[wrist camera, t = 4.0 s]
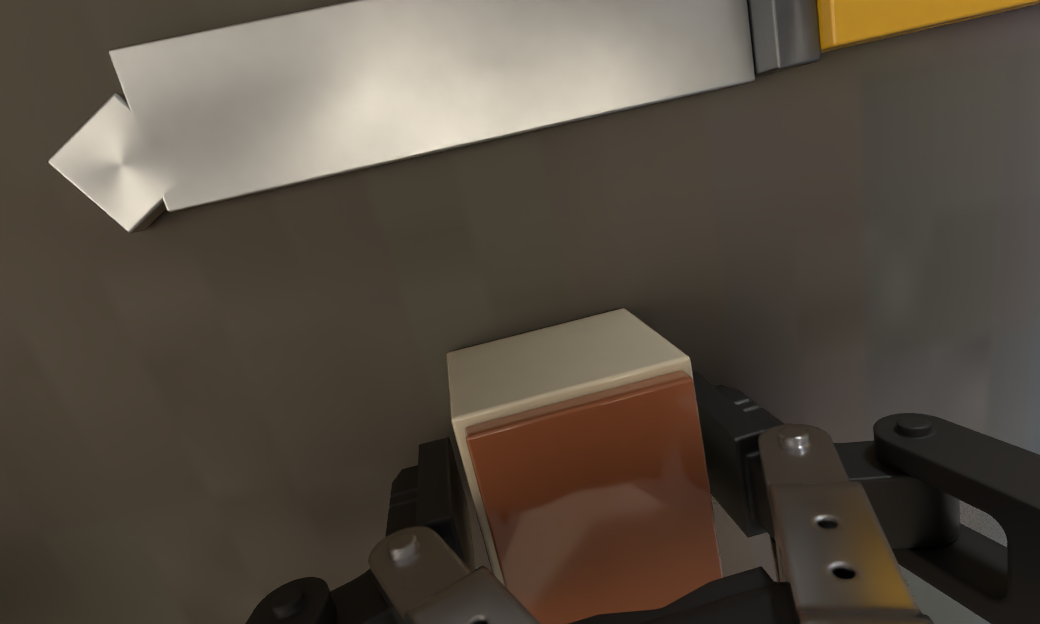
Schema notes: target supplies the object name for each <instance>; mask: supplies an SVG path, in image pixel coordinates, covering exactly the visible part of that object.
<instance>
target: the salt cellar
mask: <svg viewBox="0 0 1040 624" xmlns="http://www.w3.org/2000/svg"><path fill="white" fill-rule="evenodd" d="M446 358H447V371H448V384H449V397H450V411H451V422H452V426H453V429H454V433H455V437H456V441H457V444H458V448H459V452H460V455H461V459H462V463H463V466H464V470H465V474H466V477H467V481H468V485H469V488H470V492H471V496H472V499H473V503H474V507H475V510H476V514H477V518H478V521H479V525H480V529H481V532H482V536H483V540H484V544H485V547H486V551H487V555H488V558H489V562H490V566H491V569H492V573H493V574H494V575H495V576H496V577H497V579H498V580H499V581H500V582H501V583H502V584H503V585H504V586H505V587H506V588H507V589H508V590H509V591H510V592H511V593H512V594H513V595H514V596H515V597H516V598H517V599H518V600H519V601H520V602H521V603H522V604H523V605H524V606H525V607H526V608H527V609H528V611H529V612H530V613H531V614H532V615H533V616H534V617H535V618H536V619H537V620H538V621H539V622H540V623H541V624H568V623H572V622H575V621H578V620H582V619H585V618H589V617H592V616H595V615H599V614H608V613H619V612H631V611H642V610H653V609H659V608H663V607H665V606H667V605H669V604H670V603H672V602H674V601H676V600H678V599H679V598H681V597H683V596H685V595H687V594H688V593H690V592H692V591H694V590H696V589H697V588H699V587H701V586H703V585H705V584H706V583H708V582H710V581H714V580H717V579H721V578H723V573H722V566H721V560H720V553H719V546H718V540H717V533H716V526H715V520H714V513H713V506H712V500H711V493H710V487H709V480H708V473H707V467H706V460H705V453H704V447H703V440H702V433H701V427H700V420H699V413H698V407H697V400H696V394H695V387H694V380H693V374H692V367H691V360H690V358H689V356H688V355H686V354H685V353H684V352H682V351H681V350H680V349H678V348H677V347H676V346H674V345H673V344H672V343H671V342H669V341H668V340H667V339H665V338H664V337H663V336H661V335H660V334H659V333H657V332H656V331H655V330H653V329H652V328H651V327H649V326H648V325H647V324H645V323H644V322H643V321H641V320H640V319H639V318H637V317H636V316H635V315H633V314H632V313H631V312H629V311H628V310H627V309H624V308H623V309H619V310H615V311H611V312H607V313H603V314H599V315H595V316H591V317H587V318H583V319H579V320H575V321H571V322H567V323H563V324H559V325H555V326H551V327H547V328H543V329H539V330H536V331H532V332H528V333H524V334H520V335H516V336H512V337H508V338H504V339H500V340H496V341H492V342H488V343H484V344H480V345H476V346H472V347H468V348H464V349H460V350H456V351H452V352H449V353H447V356H446Z"/></svg>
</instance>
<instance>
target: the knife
mask: <svg viewBox="0 0 1040 624" xmlns="http://www.w3.org/2000/svg"><path fill="white" fill-rule="evenodd" d="M1038 4H1040V0H352V1H347V2H342V3H337V4H332V5H327V6H322V7H317V8H312V9H307V10H303V11H298V12H293V13H288V14H283V15H278V16H273V17H268V18H263V19H258V20H253V21H248V22H243V23H238V24H233V25H228V26H223V27H218V28H213V29H208V30H203V31H198V32H193V33H188V34H183V35H178V36H174V37H169V38H164V39H159V40H154V41H149V42H144V43H139V44H134V45H129V46H124V47H119V48H114V49H110V50H109V51H108V53H109V56H110V58H111V61H112V64H113V67H114V69H115V72H116V75H117V77H118V80H119V83H120V85H121V88H122V91H123V93H124V94H119V93H114V94H112V95H111V96H110V97H109V98H108V99H107V100H106V101H105V102H104V103H103V104H102V105H101V106H100V107H99V108H98V109H97V110H96V111H95V112H94V113H93V114H92V115H91V116H90V117H89V118H88V119H87V120H86V121H85V122H84V123H83V124H82V126H81V127H80V128H79V129H78V130H77V131H76V132H75V133H74V134H73V135H72V136H71V137H70V138H69V139H68V140H67V141H66V142H65V143H64V144H63V145H62V146H61V147H60V148H59V149H58V150H57V151H56V152H55V153H54V154H53V155H52V156H51V157H50V158H49V159H48V161H47V162H48V164H49V165H50V166H52V167H53V168H54V169H55V170H56V171H57V172H59V173H60V174H61V175H62V176H63V177H64V178H65V179H67V180H68V181H69V182H70V183H71V184H72V185H74V186H75V187H76V188H77V189H78V190H79V191H80V192H82V193H83V194H84V195H85V196H86V197H87V198H89V199H90V200H91V201H92V202H93V203H94V204H95V205H97V206H98V207H99V208H100V209H101V210H102V211H104V212H105V213H106V214H107V215H108V216H109V217H110V218H112V219H113V220H114V221H115V222H116V223H117V224H119V225H120V226H121V227H122V228H123V229H124V230H126V231H127V232H128V233H134V232H139V231H143V230H145V229H146V228H147V227H148V226H149V225H150V224H151V223H152V222H153V221H154V220H155V219H156V218H157V217H158V216H159V215H160V214H161V213H162V212H163V211H164V210H166V209H167V211H168V212H175V211H180V210H185V209H190V208H194V207H199V206H203V205H207V204H212V203H216V202H221V201H225V200H230V199H234V198H239V197H243V196H247V195H252V194H256V193H261V192H265V191H270V190H274V189H279V188H283V187H287V186H292V185H296V184H301V183H305V182H310V181H314V180H319V179H323V178H327V177H332V176H336V175H341V174H345V173H350V172H354V171H359V170H363V169H367V168H372V167H376V166H381V165H385V164H390V163H394V162H399V161H403V160H407V159H412V158H416V157H421V156H425V155H430V154H434V153H439V152H443V151H447V150H452V149H456V148H461V147H465V146H470V145H474V144H479V143H483V142H487V141H492V140H496V139H501V138H505V137H510V136H514V135H519V134H523V133H527V132H532V131H536V130H541V129H545V128H550V127H554V126H559V125H563V124H567V123H572V122H576V121H581V120H585V119H590V118H594V117H599V116H603V115H607V114H612V113H616V112H621V111H625V110H630V109H634V108H639V107H643V106H648V105H652V104H656V103H661V102H665V101H670V100H674V99H679V98H683V97H688V96H692V95H696V94H701V93H705V92H710V91H714V90H719V89H723V88H728V87H732V86H736V85H741V84H745V83H749V82H753V81H754V80H755V77H756V76H761V75H765V74H769V73H774V72H778V71H782V70H786V69H790V68H794V67H798V66H801V65H805V64H809V63H813V62H817V61H819V60H820V59H821V53H823V52H827V51H832V50H836V49H841V48H845V47H850V46H854V45H858V44H863V43H867V42H872V41H876V40H881V39H885V38H890V37H894V36H899V35H903V34H908V33H912V32H917V31H921V30H926V29H930V28H935V27H939V26H944V25H948V24H953V23H957V22H962V21H966V20H971V19H975V18H980V17H984V16H989V15H993V14H998V13H1002V12H1006V11H1011V10H1015V9H1020V8H1024V7H1029V6H1033V5H1038Z"/></svg>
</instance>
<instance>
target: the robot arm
mask: <svg viewBox="0 0 1040 624" xmlns="http://www.w3.org/2000/svg"><path fill="white" fill-rule="evenodd" d="M692 374H693V380H694V387H695V394H696V400H697V407H698V413H699V420H700V427H701V433H702V440H703V447H704V453H705V460H706V467H707V473H708V480H709V487H710V493H711V494H712V495H713V497H714V498H715V499H716V500H717V501H718V503H719V504H720V505H721V506H722V507H723V508H724V510H725V511H726V512H727V513H728V514H729V516H730V517H731V518H732V519H733V520H734V521H735V523H736V524H737V525H738V526H739V527H740V529H741V530H742V531H743V532H744V533H745V535H746V536H747V537H752V536H755V535H759V534H762V533H766V532H768V534H769V535H770V541H771V549H772V556H773V561H774V566H775V572H776V577H777V582H774V581H773V580H772V579H771V578H770V576H769V575H768V574H767V573H766V571H765V570H764V569H763V568H762V567H758V568H754V569H751V570H748V571H744V572H741V573H738V574H734V575H731V576H727V577H724V578H721V579H717V580H714V581H710V582H708V583H706V584H705V585H703V586H701V587H699V588H697V589H696V590H694V591H692V592H690V593H688V594H687V595H685V596H683V597H681V598H679V599H678V600H676V601H674V602H672V603H670V604H669V605H667V606H665V607H663V608H659V609H653V610H642V611H631V612H619V613H608V614H599V615H595V616H592V617H589V618H585V619H582V620H578V621H575V622H572V623H568V624H934V623H933V622H932V620H931V619H930V618H929V617H928V616H927V615H924V614H922V613H921V611H920V610H919V608H918V606H917V604H916V601H915V599H914V597H913V595H912V593H911V590H910V588H909V586H908V584H907V582H906V580H905V577H904V575H903V573H902V571H901V569H900V566H899V564H900V565H901V566H903V567H904V568H906V569H907V570H909V571H910V572H912V573H914V574H915V575H917V576H918V577H920V578H921V579H923V580H924V581H926V582H928V583H929V584H931V585H932V586H934V587H935V588H937V589H938V590H940V591H941V592H943V593H945V594H946V595H948V596H949V597H951V598H952V599H954V600H955V601H957V602H959V603H960V604H962V605H963V606H965V607H966V608H968V609H969V610H971V611H972V612H974V613H976V614H977V615H979V616H980V617H982V618H983V619H985V620H986V621H988V622H990V623H991V624H1040V455H1038V454H1036V453H1033V452H1030V451H1028V450H1025V449H1022V448H1019V447H1017V446H1014V445H1011V444H1009V443H1006V442H1003V441H1000V440H998V439H995V438H992V437H990V436H987V435H984V434H981V433H979V432H976V431H973V430H971V429H968V428H965V427H962V426H960V425H957V424H954V423H952V422H949V421H946V420H943V419H941V418H938V417H934V416H930V415H925V414H916V413H902V414H894V415H889V416H886V417H883V418H881V419H879V420H878V421H877V422H876V423H875V424H874V427H873V430H874V441H863V442H851V443H833V441H832V439H831V437H830V435H829V434H828V433H827V432H825V431H824V430H822V429H820V428H817V427H814V426H810V425H804V424H784V423H782V422H781V421H780V420H778V419H777V418H775V417H774V416H773V415H771V414H770V413H769V412H767V411H766V410H765V409H763V408H760V406H759V405H758V404H757V403H755V402H754V401H751V400H750V398H748V397H747V396H746V395H744V394H743V393H742V392H740V391H739V390H736V389H733V388H730V387H726V386H723V385H718V386H712V385H711V384H710V383H709V382H707V381H706V380H705V379H704V378H702V377H701V376H700V375H698V374H697V373H695V372H693V373H692ZM959 500H961V501H963V502H965V503H967V504H970V505H972V506H974V507H976V508H978V509H980V510H982V511H984V512H986V513H988V514H989V515H991V516H992V517H993V518H994V519H995V520H996V521H997V522H998V523H999V524H1000V525H1001V526H1002V528H1003V530H1004V531H1005V534H1006V536H1007V547H1005V546H1003V545H1001V544H999V543H997V542H995V541H993V540H991V539H989V538H988V537H986V536H984V535H982V534H980V533H978V532H976V531H974V530H972V529H970V528H968V527H966V526H964V525H963V524H961V523H960V508H959ZM389 506H390V508H389V514H388V522H387V530H386V537H385V538H384V539H383V540H381V541H380V542H379V543H378V544H377V545H376V546H375V547H374V548H373V550H372V551H371V553H370V556H369V560H368V561H369V566H370V569H369V570H368V571H366V572H365V573H364V574H362V575H361V576H359V577H358V578H356V579H354V580H352V581H351V582H349V583H347V584H345V585H343V586H341V587H339V588H337V589H335V590H333V591H331V592H330V590H329V588H328V585H327V583H326V582H325V581H324V580H322V579H320V578H316V577H306V578H301V579H297V580H294V581H291V582H289V583H286V584H284V585H282V586H280V587H279V588H277V589H275V590H274V591H272V592H271V593H270V594H268V595H267V596H266V597H265V598H264V599H263V600H262V601H261V602H260V603H259V604H258V605H257V607H256V608H255V609H254V611H253V613H252V614H251V616H250V617H249V619H248V621H247V622H246V624H541V623H540V622H539V621H538V620H537V619H536V618H535V617H534V616H533V615H532V614H531V613H530V612H529V611H528V609H527V608H526V607H525V606H524V605H523V604H522V603H521V602H520V601H519V600H518V599H517V598H516V597H515V596H514V595H513V594H512V593H511V592H510V591H509V590H508V589H507V588H506V587H505V586H504V585H503V584H502V583H501V582H500V581H499V580H498V579H497V577H496V576H495V575H494V574H493V573H492V572H491V571H490V570H489V569H488V568H486V567H485V566H481V567H479V568H478V569H476V570H475V563H474V553H473V544H472V535H471V525H470V517H469V511H468V506H467V501H466V497H465V493H464V489H463V486H462V482H461V478H460V475H459V471H458V468H457V464H456V460H455V457H454V453H453V449H452V446H451V443H450V440H449V437H446V438H442V439H439V440H435V441H431V442H427V443H424V444H420V445H419V458H418V465H417V466H414V467H410V468H406V469H402V470H401V472H400V473H399V475H398V476H397V477H396V479H395V480H394V481H393V483H392V489H391V498H390V505H389Z"/></svg>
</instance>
